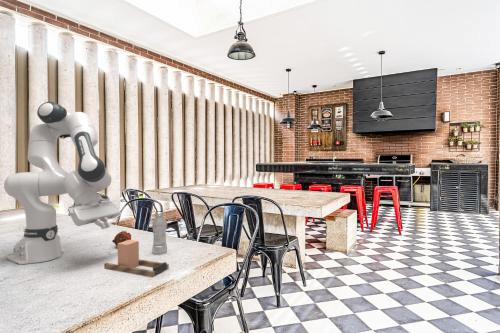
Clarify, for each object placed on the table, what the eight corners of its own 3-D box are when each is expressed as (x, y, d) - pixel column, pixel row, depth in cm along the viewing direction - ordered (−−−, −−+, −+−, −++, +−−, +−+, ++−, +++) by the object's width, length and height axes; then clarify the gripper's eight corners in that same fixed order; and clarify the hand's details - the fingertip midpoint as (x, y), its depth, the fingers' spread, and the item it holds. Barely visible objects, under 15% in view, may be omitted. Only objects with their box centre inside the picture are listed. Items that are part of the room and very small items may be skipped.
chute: (104, 271, 117) (104, 261, 117) (122, 263, 125) (122, 254, 125) (152, 280, 107) (152, 269, 107) (168, 271, 116) (168, 261, 116)
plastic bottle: (151, 253, 138) (151, 211, 138) (166, 251, 141) (165, 210, 141) (152, 257, 132) (152, 213, 132) (168, 255, 135) (167, 212, 135)
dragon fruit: (124, 253, 145) (119, 250, 155) (138, 240, 149) (132, 238, 159) (112, 240, 143) (108, 238, 152) (126, 228, 147) (121, 227, 157)
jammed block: (117, 268, 116) (117, 243, 116) (129, 263, 122) (129, 239, 121) (127, 270, 114) (127, 244, 114) (139, 265, 120) (138, 240, 119)
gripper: (69, 201, 115) (88, 228, 112) (111, 195, 134) (128, 218, 131) (61, 212, 117) (79, 238, 114) (104, 204, 136) (121, 227, 133)
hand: (106, 227), depth 123 cm, fingers closed
